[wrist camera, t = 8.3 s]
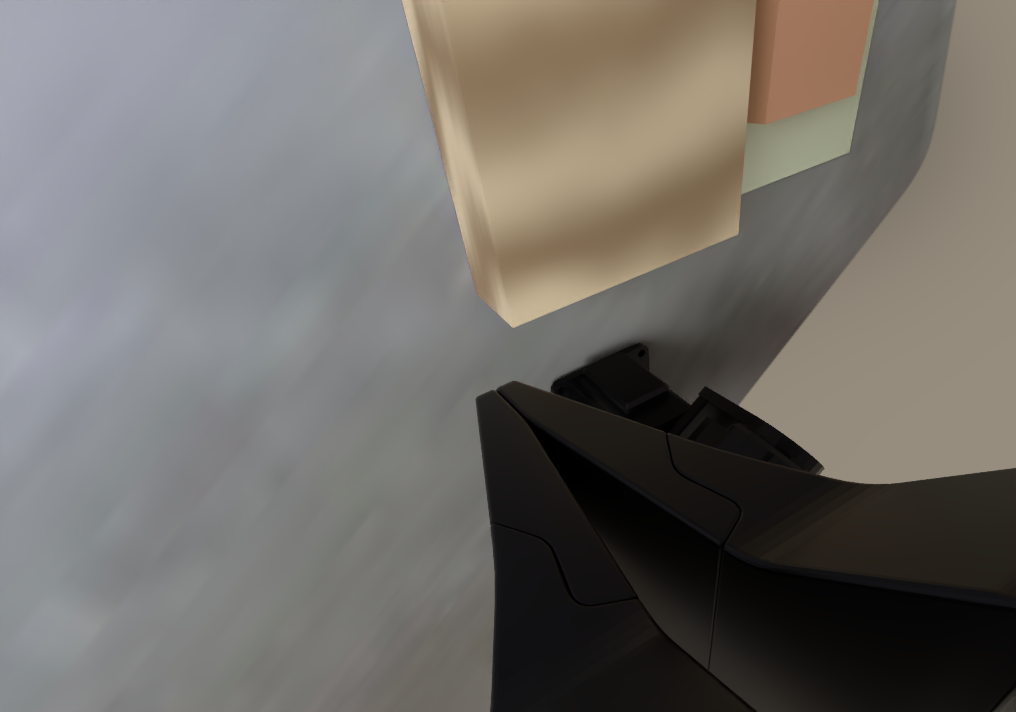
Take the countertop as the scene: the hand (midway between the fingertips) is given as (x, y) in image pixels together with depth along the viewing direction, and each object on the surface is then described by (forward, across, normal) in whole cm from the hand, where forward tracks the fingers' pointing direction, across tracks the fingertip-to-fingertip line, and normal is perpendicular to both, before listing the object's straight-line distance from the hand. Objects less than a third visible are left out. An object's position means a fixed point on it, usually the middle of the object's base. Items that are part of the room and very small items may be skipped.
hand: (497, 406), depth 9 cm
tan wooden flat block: (+13, -10, -5) cm, 17 cm away
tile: (+11, -22, -4) cm, 25 cm away
